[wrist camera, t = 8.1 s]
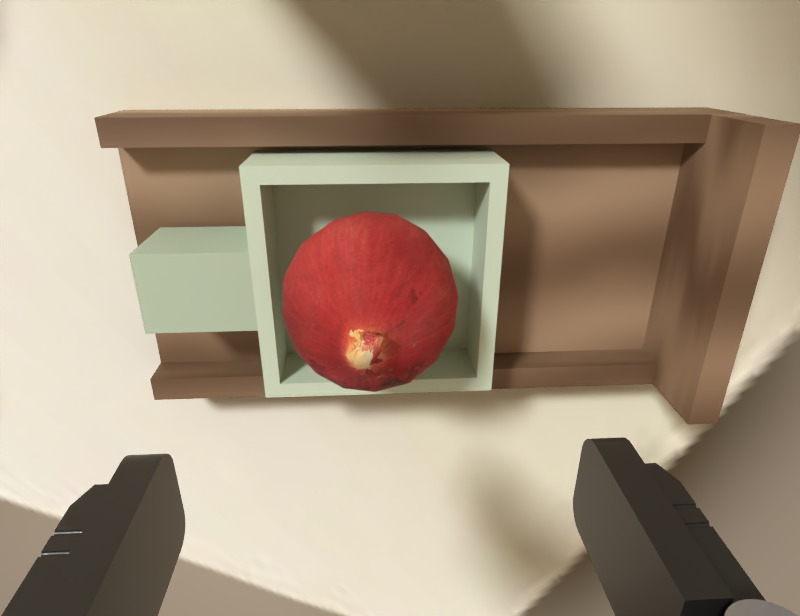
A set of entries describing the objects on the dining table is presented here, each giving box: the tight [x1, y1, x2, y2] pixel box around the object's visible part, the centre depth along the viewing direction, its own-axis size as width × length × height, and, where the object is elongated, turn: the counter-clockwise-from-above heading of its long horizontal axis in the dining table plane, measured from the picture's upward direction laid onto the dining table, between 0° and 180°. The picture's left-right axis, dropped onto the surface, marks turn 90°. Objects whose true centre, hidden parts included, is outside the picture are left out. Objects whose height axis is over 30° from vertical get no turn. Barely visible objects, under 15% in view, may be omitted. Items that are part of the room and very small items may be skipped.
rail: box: [95, 108, 800, 424], centre depth 22 cm, size 11×23×6 cm, turn 90°
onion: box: [282, 211, 458, 392], centre depth 19 cm, size 6×6×8 cm
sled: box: [129, 148, 509, 398], centre depth 22 cm, size 9×13×3 cm
